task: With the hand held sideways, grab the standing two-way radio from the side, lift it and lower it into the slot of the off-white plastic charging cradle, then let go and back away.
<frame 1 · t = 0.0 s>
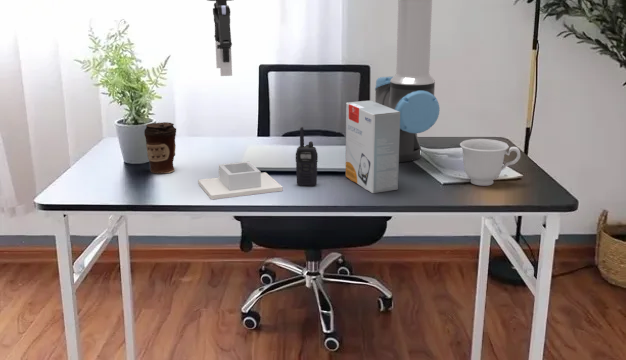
hand: (224, 71, 184), 28 cm above the table, tool pointing down, fingers open, 13 cm apart
charging cradle: (239, 187, 185), on the table
two-way radio: (307, 184, 187), on the table
teacup: (487, 183, 187), on the table
hard drive box: (371, 184, 187), on the table
coffee cup: (162, 172, 199), on the table
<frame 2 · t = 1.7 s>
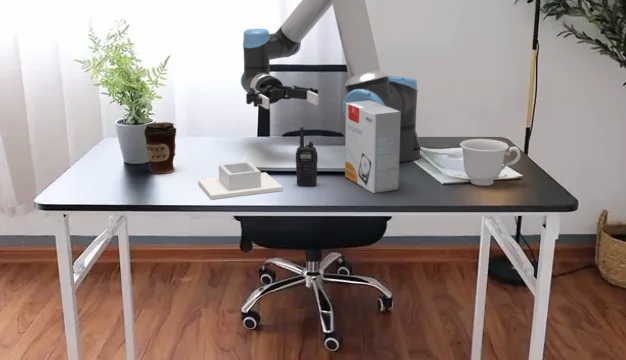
hand: (292, 101, 190), 19 cm above the table, tool horizontal, fingers open, 13 cm apart
nothing on the table moved.
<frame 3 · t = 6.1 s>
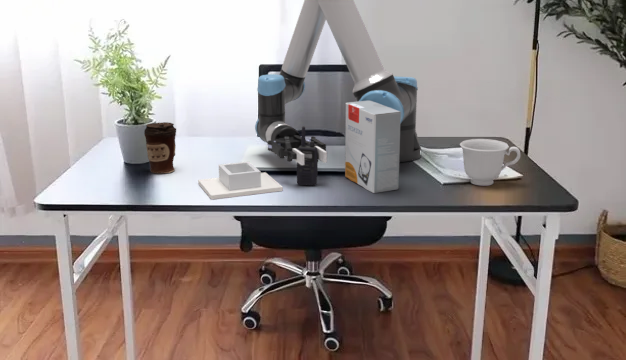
hand: (314, 158, 180), 8 cm above the table, tool horizontal, fingers closed on two-way radio, 5 cm apart
two-way radio: (307, 184, 187), on the table, touching gripper
everything else where it was.
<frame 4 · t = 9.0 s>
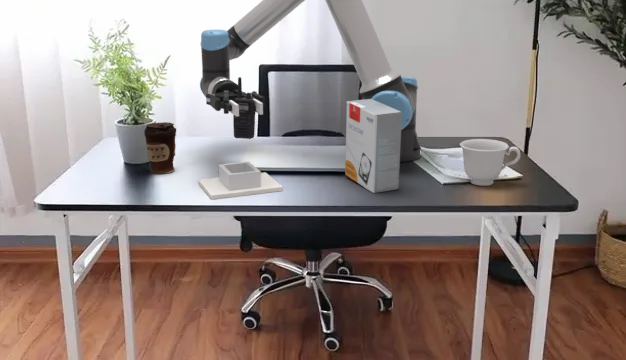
hand: (249, 109, 175), 21 cm above the table, tool horizontal, fingers closed on two-way radio, 5 cm apart
two-way radio: (244, 138, 182), point 12 cm above the table, touching gripper
hard drive box: (371, 183, 187), on the table, touching arm
everything else where it was.
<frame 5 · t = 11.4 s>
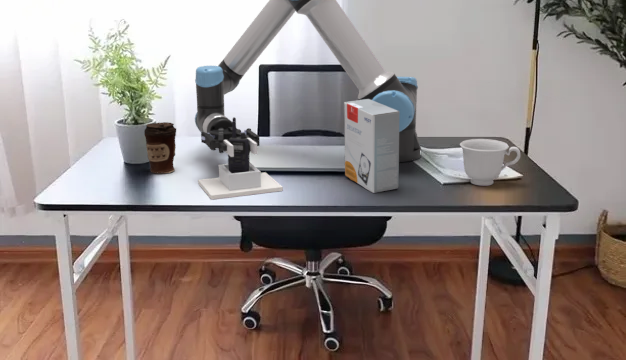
hand: (244, 150, 177), 11 cm above the table, tool horizontal, fingers closed on two-way radio, 5 cm apart
two-way radio: (239, 176, 184), point 3 cm above the table, touching gripper
everything else where it was.
when the fingers open (10 cm above the table, at t = 12.2 s): two-way radio drops 1 cm, resting on charging cradle.
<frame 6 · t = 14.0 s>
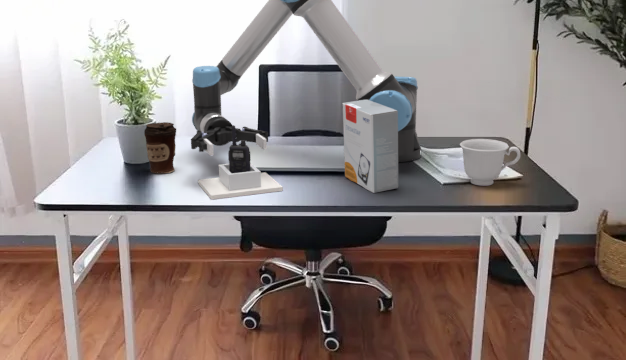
hand: (238, 147, 181), 11 cm above the table, tool horizontal, fingers open, 13 cm apart
two-way radio: (241, 183, 185), point 1 cm above the table, touching charging cradle
everything else where it was.
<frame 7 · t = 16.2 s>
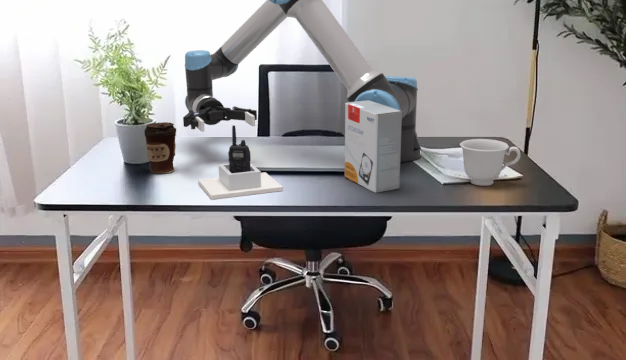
hand: (228, 123, 191), 14 cm above the table, tool horizontal, fingers open, 13 cm apart
hard drive box: (371, 183, 188), on the table
everything else where it was.
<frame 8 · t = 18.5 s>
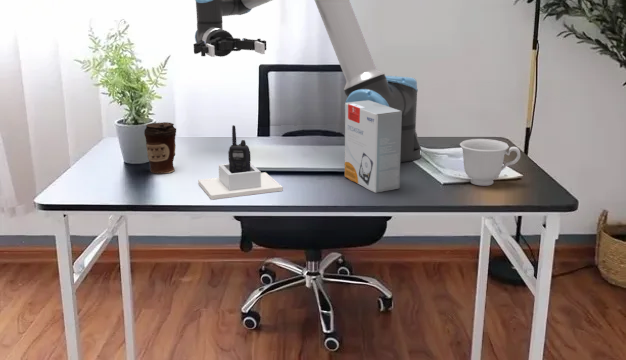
hand: (238, 50, 193), 32 cm above the table, tool horizontal, fingers open, 13 cm apart
nothing on the table moved.
at the end: two-way radio 0.3 cm off-centre on the charging cradle, point 0.8 cm above the charging cradle's base; two-way radio tilted 0°; the gripper is holding nothing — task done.
